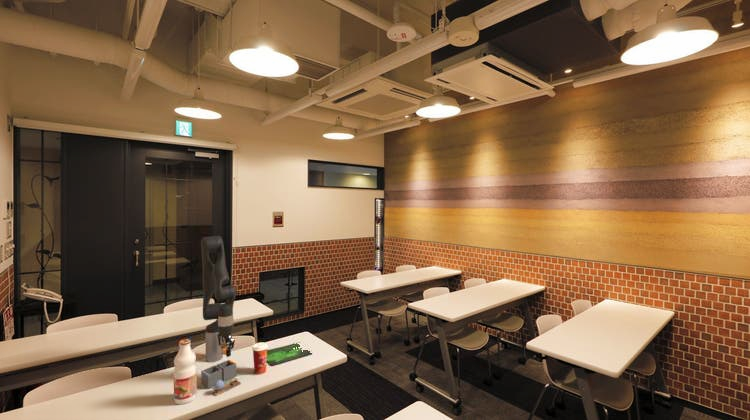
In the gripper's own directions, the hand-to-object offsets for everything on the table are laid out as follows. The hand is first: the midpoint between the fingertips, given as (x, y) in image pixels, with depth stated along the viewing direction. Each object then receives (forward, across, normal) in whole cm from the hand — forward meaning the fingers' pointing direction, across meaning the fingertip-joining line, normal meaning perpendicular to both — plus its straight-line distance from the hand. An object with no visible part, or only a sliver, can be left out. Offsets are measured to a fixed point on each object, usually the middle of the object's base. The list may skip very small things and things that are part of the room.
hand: (226, 354), depth 174 cm
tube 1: (+12, 0, -8) cm, 14 cm away
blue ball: (+8, +11, -10) cm, 17 cm away
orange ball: (-2, 0, 0) cm, 2 cm away
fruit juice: (+12, +3, -22) cm, 25 cm away
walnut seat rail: (+12, +11, -6) cm, 17 cm away
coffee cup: (+12, +10, +14) cm, 21 cm away
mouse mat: (+12, +4, +37) cm, 39 cm away
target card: (+12, +6, -4) cm, 14 cm away
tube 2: (+12, 0, 0) cm, 12 cm away
